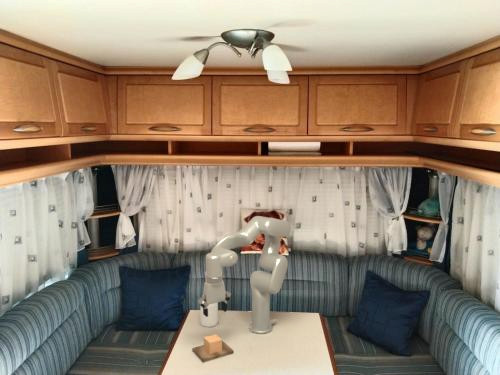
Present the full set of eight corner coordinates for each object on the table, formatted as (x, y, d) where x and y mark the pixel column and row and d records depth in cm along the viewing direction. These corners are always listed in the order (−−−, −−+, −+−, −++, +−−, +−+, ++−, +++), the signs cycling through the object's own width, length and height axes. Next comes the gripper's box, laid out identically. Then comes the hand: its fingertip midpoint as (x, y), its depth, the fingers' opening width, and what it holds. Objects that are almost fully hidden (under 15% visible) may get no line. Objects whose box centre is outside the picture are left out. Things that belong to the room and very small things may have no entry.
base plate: (221, 342, 223) (221, 333, 222) (233, 353, 213) (233, 343, 212) (192, 351, 215) (192, 341, 214) (203, 362, 204) (202, 352, 204)
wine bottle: (217, 327, 239) (216, 274, 234) (199, 327, 239) (198, 273, 234) (218, 320, 248) (218, 268, 244) (201, 319, 248) (201, 267, 244)
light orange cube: (215, 344, 218) (215, 334, 217) (221, 350, 212) (221, 339, 212) (203, 348, 214) (203, 337, 214) (209, 354, 209) (209, 343, 208)
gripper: (226, 273, 217) (227, 306, 220) (194, 280, 208) (195, 314, 211) (234, 277, 211) (234, 311, 213) (200, 285, 202) (202, 320, 205)
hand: (215, 313), depth 212 cm, fingers open, 9 cm apart
